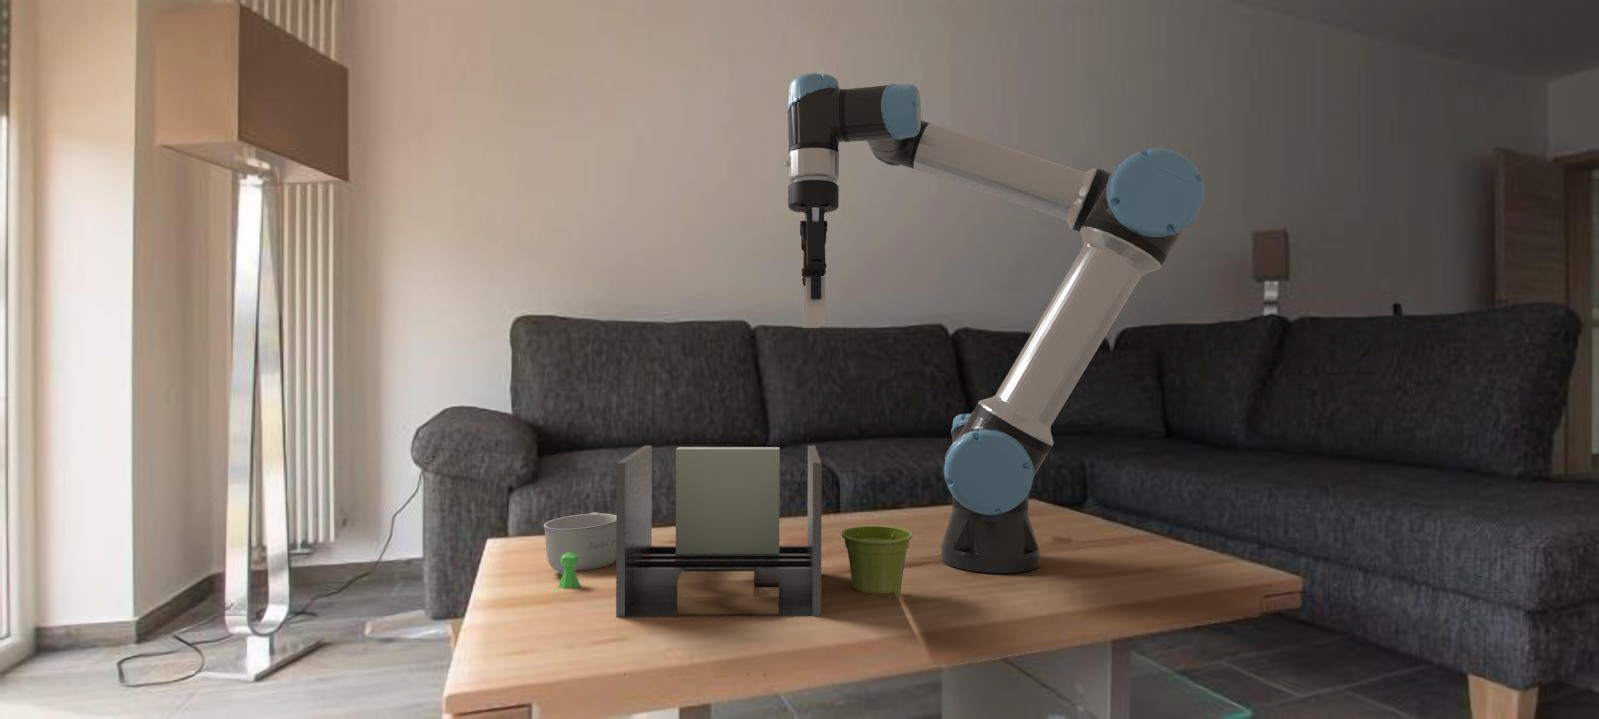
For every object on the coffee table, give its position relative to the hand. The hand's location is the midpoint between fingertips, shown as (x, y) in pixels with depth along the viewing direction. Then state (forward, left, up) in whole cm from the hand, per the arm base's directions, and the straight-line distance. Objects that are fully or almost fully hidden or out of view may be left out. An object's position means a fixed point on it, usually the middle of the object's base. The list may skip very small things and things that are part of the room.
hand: (813, 326), depth 121 cm
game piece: (+33, +12, -37) cm, 51 cm away
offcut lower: (+11, +22, -35) cm, 43 cm away
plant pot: (-8, +13, -37) cm, 40 cm away
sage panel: (+12, +9, -35) cm, 38 cm away
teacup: (+34, -2, -37) cm, 50 cm away
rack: (+12, +16, -37) cm, 42 cm away
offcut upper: (+13, +22, -33) cm, 42 cm away
